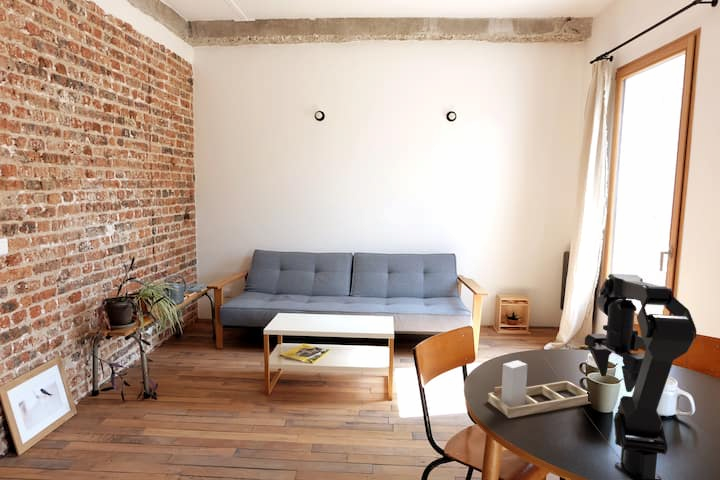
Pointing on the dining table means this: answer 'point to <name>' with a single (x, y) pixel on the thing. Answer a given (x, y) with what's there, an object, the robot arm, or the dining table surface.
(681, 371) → the dining table surface
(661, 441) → the robot arm
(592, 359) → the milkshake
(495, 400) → the organiser
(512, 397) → the pale grey upright block
